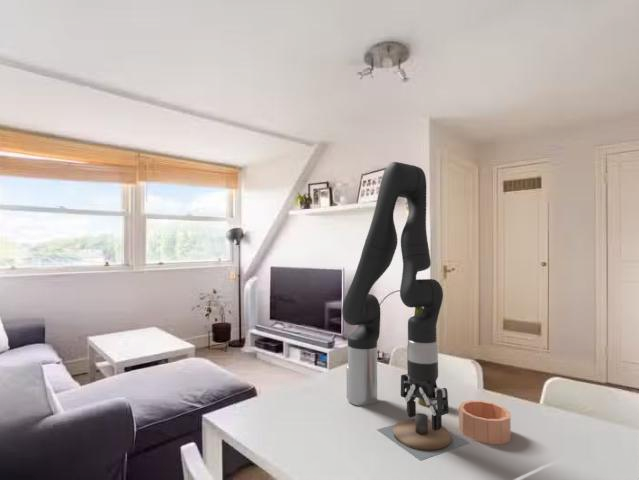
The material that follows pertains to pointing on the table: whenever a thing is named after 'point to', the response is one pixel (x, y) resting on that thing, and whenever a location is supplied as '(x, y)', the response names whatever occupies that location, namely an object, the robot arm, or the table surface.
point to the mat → (420, 454)
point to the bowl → (485, 422)
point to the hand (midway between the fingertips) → (423, 422)
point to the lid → (421, 434)
